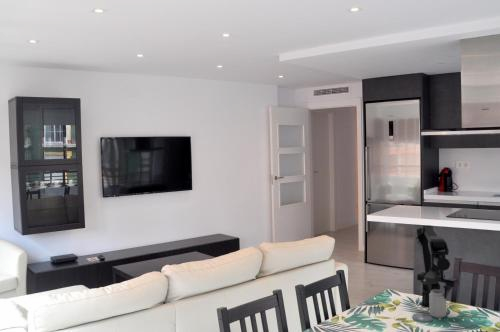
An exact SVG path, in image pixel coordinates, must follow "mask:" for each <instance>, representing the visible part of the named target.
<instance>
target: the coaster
mask: <svg viewBox="0 0 500 332" xmlns="http://www.w3.org/2000/svg"><path fill="white" fill-rule="evenodd" d="M411 317H412V320H413V321H415V322H417V321H418V323H426V324H427V323H432V322H433V320H434V319H433V318H434V317H433V316H431V315H430V313H429V314H428V313H424V312H423V313H421V312H417V313H413V314H412V316H411Z"/></svg>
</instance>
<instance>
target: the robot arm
mask: <svg viewBox="0 0 500 332" xmlns="http://www.w3.org/2000/svg"><path fill="white" fill-rule="evenodd" d="M414 239H416V244H418V246H419V247H420V251H421V253H420V254H421V259H422V269H423V271H422V272H420V273H417V274H416V280H417V281H420V285H419V293H420V294H421V296H422V297H421V298H422V300H421V302H422V303H420V306H423V307H427V308H429V293H430V292H431V290H441V285H440V283H445V285H443V288H444V298H445V299H446V300H447V298H448V297H449V294H450V292H451V290H452V289H453V288H455V287H457V286H460V280H459V279H458V278H454V277H449V278H446V274H445V271H448V269H449V268H450V266H451V263H450V261H449V259H447V258H446V256H448V255H449V252H450V250H449V247H448V244H447V241H446V240H445V239H444V238H443V237H441V236H438V234H437V233H436V232H435V230H434V227H433V225H421V227H420V228H418V229H416V231H415V232H414Z"/></svg>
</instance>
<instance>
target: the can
mask: <svg viewBox="0 0 500 332" xmlns="http://www.w3.org/2000/svg"><path fill="white" fill-rule="evenodd" d="M444 292H445V290H442V289H440V290H431V292H430V293H429V307H428V308H429V309H428V310H429V315H431V316H432V317H433V318H437V319H442V318H445V317H446V315H447V298H446V299H445V298H444Z"/></svg>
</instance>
